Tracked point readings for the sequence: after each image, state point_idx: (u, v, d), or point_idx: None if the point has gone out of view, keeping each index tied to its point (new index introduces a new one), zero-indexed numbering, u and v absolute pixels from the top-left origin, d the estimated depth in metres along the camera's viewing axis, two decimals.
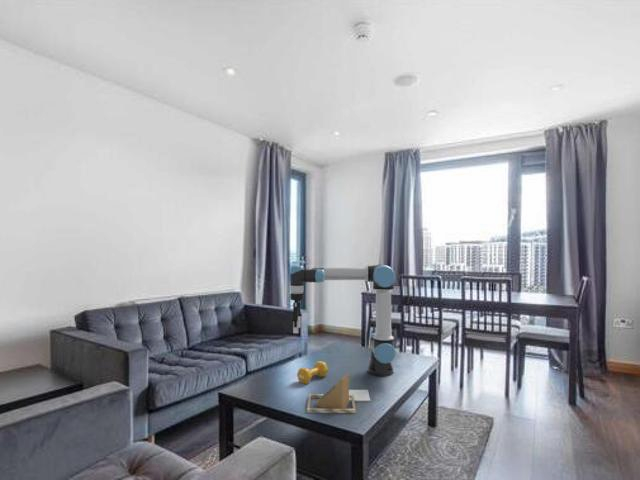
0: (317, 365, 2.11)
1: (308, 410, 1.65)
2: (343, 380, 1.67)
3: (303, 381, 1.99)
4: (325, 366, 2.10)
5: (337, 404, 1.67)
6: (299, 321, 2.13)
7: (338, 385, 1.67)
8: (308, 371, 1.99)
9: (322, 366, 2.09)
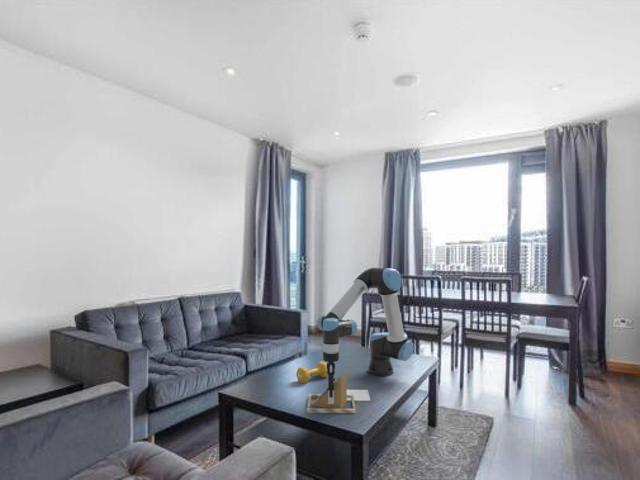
0: (318, 365, 2.10)
1: (308, 410, 1.65)
2: (342, 379, 1.68)
3: (301, 380, 2.00)
4: (326, 367, 2.09)
5: (336, 403, 1.67)
6: None
7: (337, 384, 1.67)
8: (306, 371, 2.00)
9: (322, 367, 2.08)
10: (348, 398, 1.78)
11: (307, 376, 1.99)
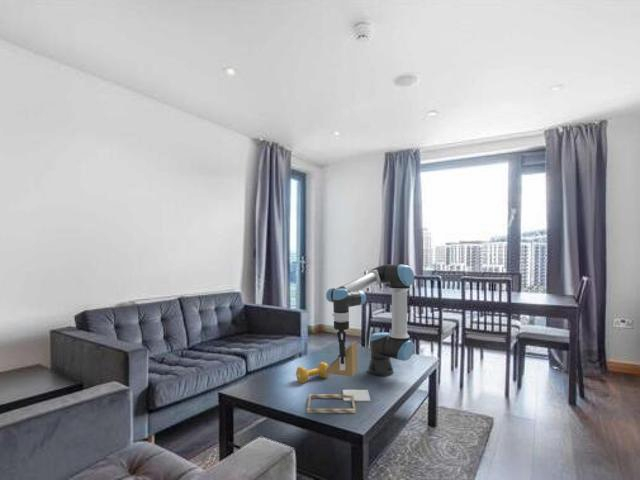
0: (319, 366, 2.10)
1: (308, 410, 1.65)
2: (352, 346, 1.73)
3: (299, 380, 2.00)
4: (326, 367, 2.08)
5: (347, 370, 1.72)
6: None
7: (348, 351, 1.72)
8: (304, 370, 2.00)
9: (322, 367, 2.07)
10: (348, 398, 1.78)
11: (305, 376, 1.99)
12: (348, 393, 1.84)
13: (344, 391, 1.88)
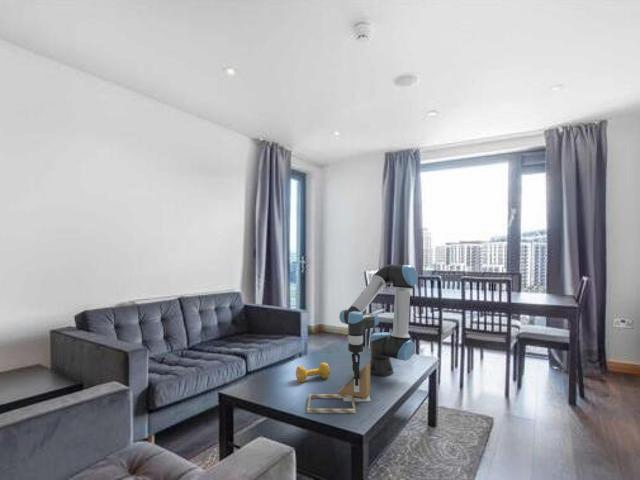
0: (319, 366, 2.09)
1: (308, 410, 1.65)
2: (367, 368, 1.79)
3: (298, 379, 2.01)
4: (326, 368, 2.06)
5: (361, 391, 1.78)
6: None
7: (362, 373, 1.78)
8: (303, 370, 2.01)
9: (322, 368, 2.07)
10: (348, 398, 1.78)
11: (303, 375, 2.00)
12: None
13: None
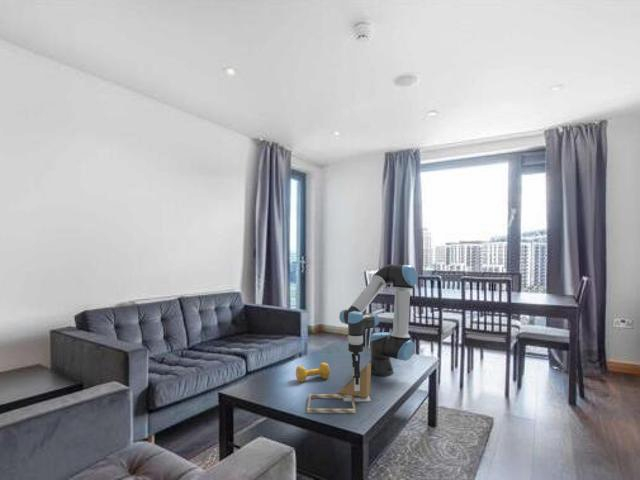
0: (320, 366, 2.09)
1: (308, 410, 1.65)
2: (368, 367, 1.80)
3: (298, 379, 2.02)
4: (326, 368, 2.06)
5: (362, 390, 1.78)
6: None
7: (363, 372, 1.79)
8: (303, 370, 2.01)
9: (322, 368, 2.06)
10: (348, 398, 1.78)
11: (303, 375, 2.00)
12: None
13: None
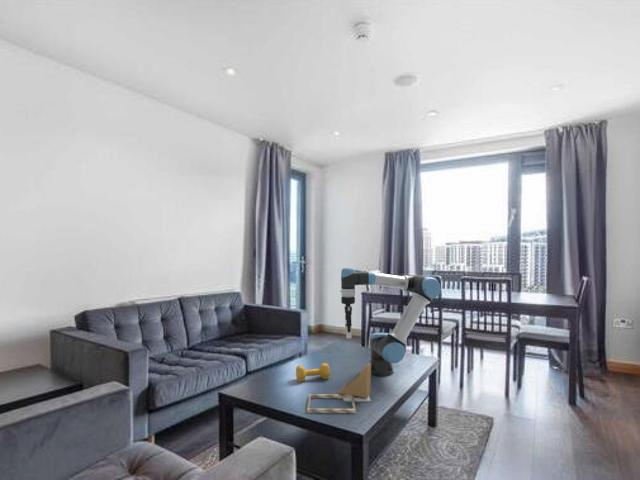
0: (320, 366, 2.09)
1: (308, 410, 1.65)
2: (367, 367, 1.80)
3: (297, 378, 2.03)
4: (326, 369, 2.05)
5: (362, 390, 1.78)
6: None
7: (363, 372, 1.79)
8: (302, 370, 2.02)
9: (322, 368, 2.06)
10: (348, 398, 1.78)
11: (302, 375, 2.00)
12: None
13: None
